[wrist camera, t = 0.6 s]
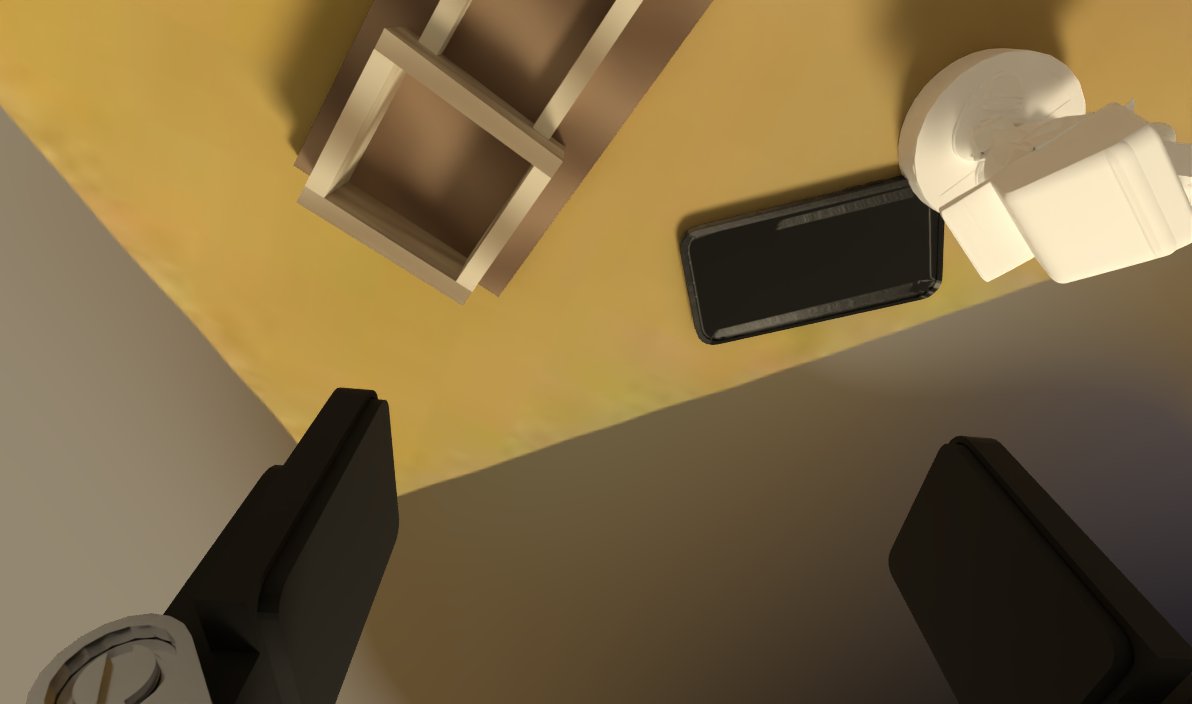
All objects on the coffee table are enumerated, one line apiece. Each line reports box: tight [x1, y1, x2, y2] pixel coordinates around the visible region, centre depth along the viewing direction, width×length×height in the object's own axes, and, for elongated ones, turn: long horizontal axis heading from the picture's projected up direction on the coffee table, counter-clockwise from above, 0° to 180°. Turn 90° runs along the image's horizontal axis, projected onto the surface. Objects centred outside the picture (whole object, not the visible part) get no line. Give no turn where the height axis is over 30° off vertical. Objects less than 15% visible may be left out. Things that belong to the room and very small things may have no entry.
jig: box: [294, 0, 713, 305], centre depth 29 cm, size 20×13×4 cm, turn 143°
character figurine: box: [898, 48, 1192, 283], centre depth 28 cm, size 9×10×12 cm
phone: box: [680, 175, 944, 345], centre depth 36 cm, size 8×1×15 cm
